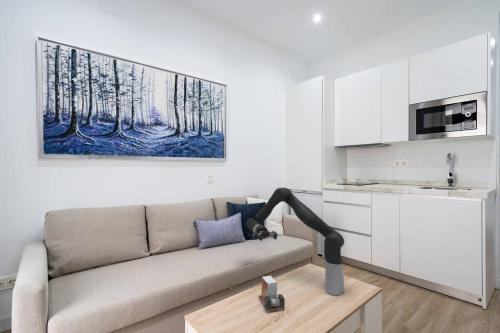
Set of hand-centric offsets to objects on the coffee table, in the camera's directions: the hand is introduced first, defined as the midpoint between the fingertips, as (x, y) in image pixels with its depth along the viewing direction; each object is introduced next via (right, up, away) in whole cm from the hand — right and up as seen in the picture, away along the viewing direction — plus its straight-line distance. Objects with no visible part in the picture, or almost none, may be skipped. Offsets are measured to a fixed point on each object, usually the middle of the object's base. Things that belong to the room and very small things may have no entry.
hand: (268, 238), depth 139 cm
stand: (0, -30, -13) cm, 33 cm away
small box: (-1, -29, -11) cm, 31 cm away
